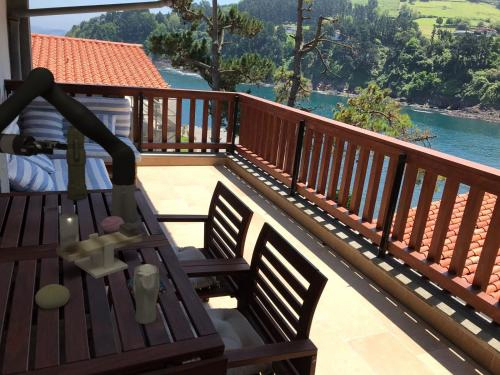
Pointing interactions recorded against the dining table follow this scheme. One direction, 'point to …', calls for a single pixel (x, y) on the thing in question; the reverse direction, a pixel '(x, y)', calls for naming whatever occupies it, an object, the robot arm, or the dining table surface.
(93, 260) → the pivot stand
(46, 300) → the sea urchin shell
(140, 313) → the beer glass
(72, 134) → the thermos
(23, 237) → the dining table surface
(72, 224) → the translucent grey cylinder
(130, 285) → the woven mat
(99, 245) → the balance beam
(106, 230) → the cupcake
